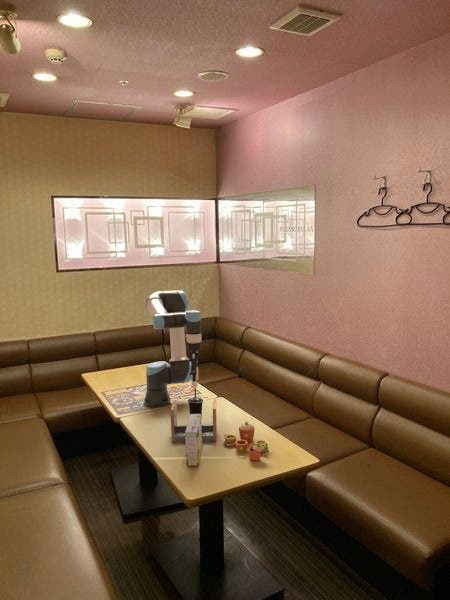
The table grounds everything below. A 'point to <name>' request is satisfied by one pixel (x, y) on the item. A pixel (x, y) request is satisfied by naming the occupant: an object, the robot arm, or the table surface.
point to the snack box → (193, 440)
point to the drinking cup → (195, 405)
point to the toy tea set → (247, 437)
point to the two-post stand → (179, 431)
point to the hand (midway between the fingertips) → (195, 383)
